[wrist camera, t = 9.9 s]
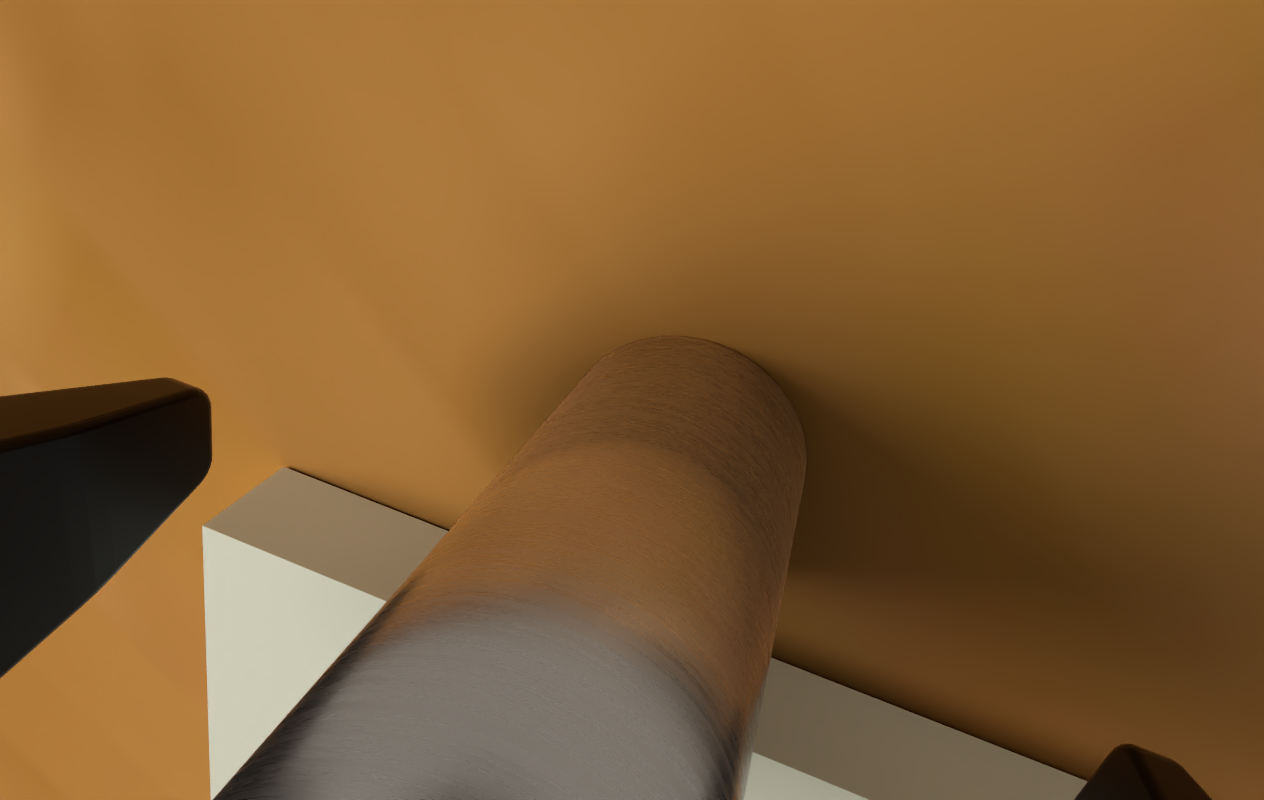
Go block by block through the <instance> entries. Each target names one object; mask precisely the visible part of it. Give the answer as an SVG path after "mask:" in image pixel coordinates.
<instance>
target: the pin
mask: <svg viewBox="0 0 1264 800" xmlns="http://www.w3.org/2000/svg"><path fill="white" fill-rule="evenodd" d="M806 467H807V451H806V444H805V437H804V434H803V430H802V427H801V424H800V421H799V419H798V416H797V414H796V412H795V410H794V408H793V406H792V404H791V403H790V401H789V400H788V398H787V396H786V395H785V393H784V392H783V391H782V390H781V388H780V387H779V386H778V385H777V384H776V382H775V381H774V380H773V379H772V378H771V377H770V376H769V375H768V374H767V373H765V372H764V371H763V370H762V369H761V368H760V367H759V366H757V365H756V364H754V363H753V362H752V361H750V360H749V359H747V358H746V357H744V356H742V355H740V354H739V353H737V352H735V351H733V350H731V349H729V348H726V347H724V346H721V345H719V344H717V343H713V342H710V341H706V340H702V339H698V338H691V337H684V336H661V337H652V338H647V339H643V340H639V341H635V342H632V343H630V344H627V345H625V346H622V347H620V348H618V349H616V350H615V351H613V352H611V353H610V354H608V355H606V356H605V357H604V358H603V359H601V360H600V361H599V362H598V363H596V364H595V365H594V366H593V367H592V369H591V370H590V371H589V372H588V373H587V374H586V375H585V376H584V377H583V378H582V380H581V381H580V382H579V383H578V384H577V385H576V386H575V388H574V389H573V390H572V391H571V392H570V393H569V394H568V396H567V397H566V398H565V399H564V400H563V401H562V402H561V404H560V405H559V406H558V407H557V408H556V409H555V410H554V411H553V413H552V414H551V415H550V416H549V417H548V418H547V419H546V421H545V422H544V423H543V424H542V425H541V426H540V427H539V429H538V430H537V431H536V432H535V433H534V434H533V435H532V437H531V438H530V439H529V440H528V441H527V442H526V443H525V445H524V446H523V447H522V448H521V449H520V450H519V451H518V452H517V454H516V455H515V456H514V457H513V458H512V459H511V460H510V462H509V463H508V464H507V465H506V466H505V467H504V468H503V470H502V471H501V472H500V473H499V474H498V475H497V476H496V478H495V479H494V480H493V481H492V482H491V483H490V484H489V486H488V487H487V488H486V489H485V490H484V491H483V492H482V493H481V495H480V496H479V497H478V498H477V499H476V500H475V501H474V503H473V504H472V505H471V506H470V507H469V508H468V509H467V511H466V512H465V513H464V514H463V515H462V516H461V517H460V519H459V520H458V521H457V522H456V523H455V524H454V525H453V526H452V528H451V529H450V530H449V531H448V532H447V533H446V534H445V536H444V537H443V538H442V539H441V540H440V541H439V542H438V544H437V545H436V546H435V547H434V548H433V549H432V550H431V552H430V553H429V554H428V555H427V556H426V557H425V558H424V560H423V561H422V562H421V563H420V564H419V565H418V566H417V567H416V569H415V570H414V571H413V572H412V573H411V574H410V575H409V577H408V578H407V579H406V580H405V581H404V582H403V583H402V585H401V586H400V587H399V588H398V589H397V590H396V591H395V593H394V594H393V595H392V596H391V597H390V598H389V599H388V601H387V602H386V603H385V604H384V605H383V606H382V607H381V608H380V610H379V611H378V612H377V613H376V614H375V615H374V616H373V618H372V619H371V620H370V621H369V622H368V623H367V624H366V626H365V627H364V628H363V629H362V630H361V631H360V632H359V634H358V635H357V636H356V637H355V638H354V639H353V640H352V641H351V643H350V644H349V645H348V646H347V647H346V648H345V649H344V651H343V652H342V653H341V654H340V655H339V656H338V657H337V659H336V660H335V661H334V662H333V663H332V664H331V665H330V667H329V668H328V669H327V670H326V671H325V672H324V673H323V675H322V676H321V677H320V678H319V679H318V680H317V681H316V682H315V684H314V685H313V686H312V687H311V688H310V689H309V690H308V692H307V693H306V694H305V695H304V696H303V697H302V698H301V700H300V701H299V702H298V703H297V704H296V705H295V706H294V708H293V709H292V710H291V711H290V712H289V713H288V714H287V716H286V717H285V718H284V719H283V720H282V721H281V722H280V723H279V725H278V726H277V727H276V728H275V729H274V730H273V731H272V733H271V734H270V735H269V736H268V737H267V738H266V739H265V741H264V742H263V743H262V744H261V745H260V746H259V747H258V749H257V750H256V751H255V752H254V753H253V754H252V755H251V756H250V758H249V759H248V760H247V761H246V762H245V763H244V764H243V766H242V767H241V768H240V769H239V770H238V771H237V772H236V774H235V775H234V776H233V777H232V778H231V779H230V780H229V782H228V783H227V784H226V785H225V786H224V787H223V788H222V790H221V791H220V792H219V793H218V794H217V795H216V796H215V797H214V799H213V800H744V796H745V791H746V785H747V780H748V775H749V770H750V764H751V759H752V754H753V749H754V743H755V738H756V733H757V728H758V722H759V717H760V712H761V707H762V701H763V696H764V691H765V685H766V680H767V675H768V670H769V664H770V659H771V654H772V649H773V643H774V638H775V633H776V628H777V622H778V617H779V612H780V607H781V601H782V596H783V591H784V586H785V580H786V575H787V570H788V565H789V559H790V554H791V549H792V544H793V538H794V533H795V528H796V523H797V517H798V512H799V507H800V502H801V496H802V491H803V486H804V481H805V474H806Z"/></svg>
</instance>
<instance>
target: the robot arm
mask: <svg viewBox="0 0 1264 800" xmlns="http://www.w3.org/2000/svg"><path fill="white" fill-rule="evenodd" d="M211 461H212V423H211V402H210V399H209V397H208V395H207V394H206V393H205V392H204V391H203V390H201V389H199V388H197V387H194V386H192V385H189V384H186V383H184V382H181V381H178V380H176V379H172V378H155V379H146V380H138V381H129V382H121V383H112V384H103V385H95V386H86V387H78V388H69V389H60V390H52V391H43V392H35V393H26V394H18V395H9V396H0V678H1V677H2V676H4V675H5V674H6V673H7V672H8V671H9V670H10V669H12V668H13V667H14V666H15V665H16V664H17V663H18V662H20V661H21V660H22V659H23V658H24V657H25V656H26V655H27V654H29V653H30V652H31V651H32V650H33V649H34V648H35V647H37V646H38V645H39V644H40V643H41V642H42V641H43V640H44V639H46V638H47V637H48V636H49V635H50V634H51V633H52V632H54V631H55V630H56V629H57V628H58V627H59V626H60V625H61V624H63V623H64V622H65V621H66V620H67V619H68V618H69V617H71V616H72V615H73V614H74V613H75V612H76V611H77V610H78V609H79V608H81V607H82V606H83V605H84V604H85V603H86V602H87V601H88V600H89V599H90V598H91V597H92V596H94V595H95V594H96V593H97V592H98V591H99V590H100V589H101V588H102V587H103V586H104V585H105V584H106V583H107V582H108V581H109V580H110V579H111V578H112V577H113V576H114V575H115V574H116V573H117V572H118V570H119V569H120V568H121V567H122V566H123V565H124V564H125V563H126V562H127V561H128V560H129V559H130V558H131V557H132V556H133V555H134V553H135V552H136V551H137V550H138V549H139V548H140V547H141V546H142V545H143V544H144V543H145V542H146V541H147V540H148V539H149V537H150V536H151V535H152V534H153V533H154V532H155V531H156V530H157V529H158V528H159V527H160V526H161V525H162V524H163V523H164V522H165V520H166V519H167V518H168V517H169V516H170V515H171V514H172V513H173V512H174V511H175V510H176V509H177V508H178V507H179V506H180V505H181V503H182V502H183V501H184V500H185V499H186V498H187V497H188V496H189V495H190V494H191V493H192V492H193V491H194V490H195V489H196V487H197V486H198V485H199V484H200V483H201V482H202V481H203V479H204V478H205V476H206V475H207V473H208V471H209V468H210V465H211ZM1074 800H1212V799H1211V798H1210V797H1209V796H1208V795H1207V794H1206V792H1205V791H1204V790H1203V789H1202V788H1201V787H1200V786H1199V785H1198V784H1197V783H1196V781H1195V780H1194V779H1193V778H1192V777H1191V776H1190V775H1189V774H1188V773H1187V771H1186V770H1185V769H1184V768H1183V767H1182V766H1181V765H1180V764H1178V763H1177V762H1175V761H1174V760H1172V759H1170V758H1167V757H1165V756H1162V755H1160V754H1157V753H1154V752H1152V751H1149V750H1146V749H1144V748H1141V747H1139V746H1136V745H1133V744H1122V745H1119V746H1117V747H1116V748H1114V749H1113V750H1112V751H1111V752H1110V753H1109V755H1108V756H1107V757H1106V759H1105V760H1104V761H1103V762H1102V764H1101V765H1100V766H1099V768H1098V769H1097V770H1096V771H1095V773H1094V774H1093V775H1092V777H1091V778H1090V779H1089V781H1088V782H1087V783H1086V784H1085V786H1084V787H1083V788H1082V790H1081V791H1080V792H1079V793H1078V795H1077V796H1076V797H1075V799H1074Z"/></svg>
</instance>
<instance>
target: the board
mask: <svg viewBox="0 0 1264 800" xmlns="http://www.w3.org/2000/svg"><path fill="white" fill-rule="evenodd" d="M202 528H203V560H204V593H205V626H206V658H207V691H208V724H209V756H210V789H211V800H213V799H214V797H215V796H216V795H217V794H218V793H219V792H220V791H221V790H222V788H223V787H224V786H225V785H226V784H227V783H228V782H229V780H230V779H231V778H232V777H233V776H234V775H235V774H236V772H237V771H238V770H239V769H240V768H241V767H242V766H243V764H244V763H245V762H246V761H247V760H248V759H249V758H250V756H251V755H252V754H253V753H254V752H255V751H256V750H257V749H258V747H259V746H260V745H261V744H262V743H263V742H264V741H265V739H266V738H267V737H268V736H269V735H270V734H271V733H272V731H273V730H274V729H275V728H276V727H277V726H278V725H279V723H280V722H281V721H282V720H283V719H284V718H285V717H286V716H287V714H288V713H289V712H290V711H291V710H292V709H293V708H294V706H295V705H296V704H297V703H298V702H299V701H300V700H301V698H302V697H303V696H304V695H305V694H306V693H307V692H308V690H309V689H310V688H311V687H312V686H313V685H314V684H315V682H316V681H317V680H318V679H319V678H320V677H321V676H322V675H323V673H324V672H325V671H326V670H327V669H328V668H329V667H330V665H331V664H332V663H333V662H334V661H335V660H336V659H337V657H338V656H339V655H340V654H341V653H342V652H343V651H344V649H345V648H346V647H347V646H348V645H349V644H350V643H351V641H352V640H353V639H354V638H355V637H356V636H357V635H358V634H359V632H360V631H361V630H362V629H363V628H364V627H365V626H366V624H367V623H368V622H369V621H370V620H371V619H372V618H373V616H374V615H375V614H376V613H377V612H378V611H379V610H380V608H381V607H382V606H383V605H384V604H385V603H386V602H387V601H388V599H389V598H390V597H391V596H392V595H393V594H394V593H395V591H396V590H397V589H398V588H399V587H400V586H401V585H402V583H403V582H404V581H405V580H406V579H407V578H408V577H409V575H410V574H411V573H412V572H413V571H414V570H415V569H416V567H417V566H418V565H419V564H420V563H421V562H422V561H423V560H424V558H425V557H426V556H427V555H428V554H429V553H430V552H431V550H432V549H433V548H434V547H435V546H436V545H437V544H438V542H439V541H440V540H441V539H442V538H443V537H444V536H445V534H446V533H447V532H448V531H447V530H444V529H442V528H439V527H436V526H434V525H431V524H429V523H426V522H424V521H421V520H419V519H416V518H413V517H411V516H408V515H406V514H403V513H401V512H398V511H396V510H393V509H391V508H388V507H385V506H383V505H380V504H378V503H375V502H373V501H370V500H368V499H365V498H362V497H360V496H357V495H355V494H352V493H350V492H347V491H345V490H342V489H339V488H337V487H334V486H332V485H329V484H327V483H324V482H322V481H319V480H316V479H314V478H311V477H309V476H306V475H304V474H301V473H299V472H296V471H293V470H291V469H288V468H286V467H283V468H281V469H280V470H279V471H277V472H276V473H275V474H273V475H272V476H270V477H269V478H268V479H266V480H265V481H263V482H262V483H261V484H259V485H258V486H257V487H255V488H254V489H252V490H251V491H250V492H248V493H247V494H246V495H244V496H243V497H241V498H240V499H239V500H237V501H236V502H234V503H233V504H232V505H230V506H229V507H228V508H226V509H225V510H223V511H222V512H221V513H219V514H218V515H217V516H215V517H214V518H212V519H211V520H210V521H208V522H207V523H205V524H204V525H203V526H202ZM1087 782H1088V781H1085V780H1083V779H1080V778H1078V777H1075V776H1072V775H1070V774H1067V773H1065V772H1062V771H1060V770H1057V769H1055V768H1052V767H1049V766H1047V765H1044V764H1042V763H1039V762H1037V761H1034V760H1032V759H1029V758H1026V757H1024V756H1021V755H1019V754H1016V753H1014V752H1011V751H1009V750H1006V749H1003V748H1001V747H998V746H996V745H993V744H991V743H988V742H986V741H983V740H980V739H978V738H975V737H973V736H970V735H968V734H965V733H963V732H960V731H957V730H955V729H952V728H950V727H947V726H945V725H942V724H940V723H937V722H935V721H932V720H929V719H927V718H924V717H922V716H919V715H917V714H914V713H912V712H909V711H906V710H904V709H901V708H899V707H896V706H894V705H891V704H889V703H886V702H883V701H881V700H878V699H876V698H873V697H871V696H868V695H866V694H863V693H860V692H858V691H855V690H853V689H850V688H848V687H845V686H843V685H840V684H837V683H835V682H832V681H830V680H827V679H825V678H822V677H820V676H817V675H814V674H812V673H809V672H807V671H804V670H802V669H799V668H797V667H794V666H791V665H789V664H786V663H784V662H781V661H779V660H776V659H774V658H771V659H770V664H769V670H768V675H767V680H766V685H765V691H764V696H763V701H762V707H761V712H760V717H759V722H758V728H757V733H756V738H755V743H754V749H753V754H752V759H751V764H750V770H749V775H748V780H747V785H746V791H745V796H744V800H1074V799H1075V797H1076V796H1077V795H1078V793H1079V792H1080V791H1081V790H1082V788H1083V787H1084V786H1085V784H1086V783H1087Z"/></svg>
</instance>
